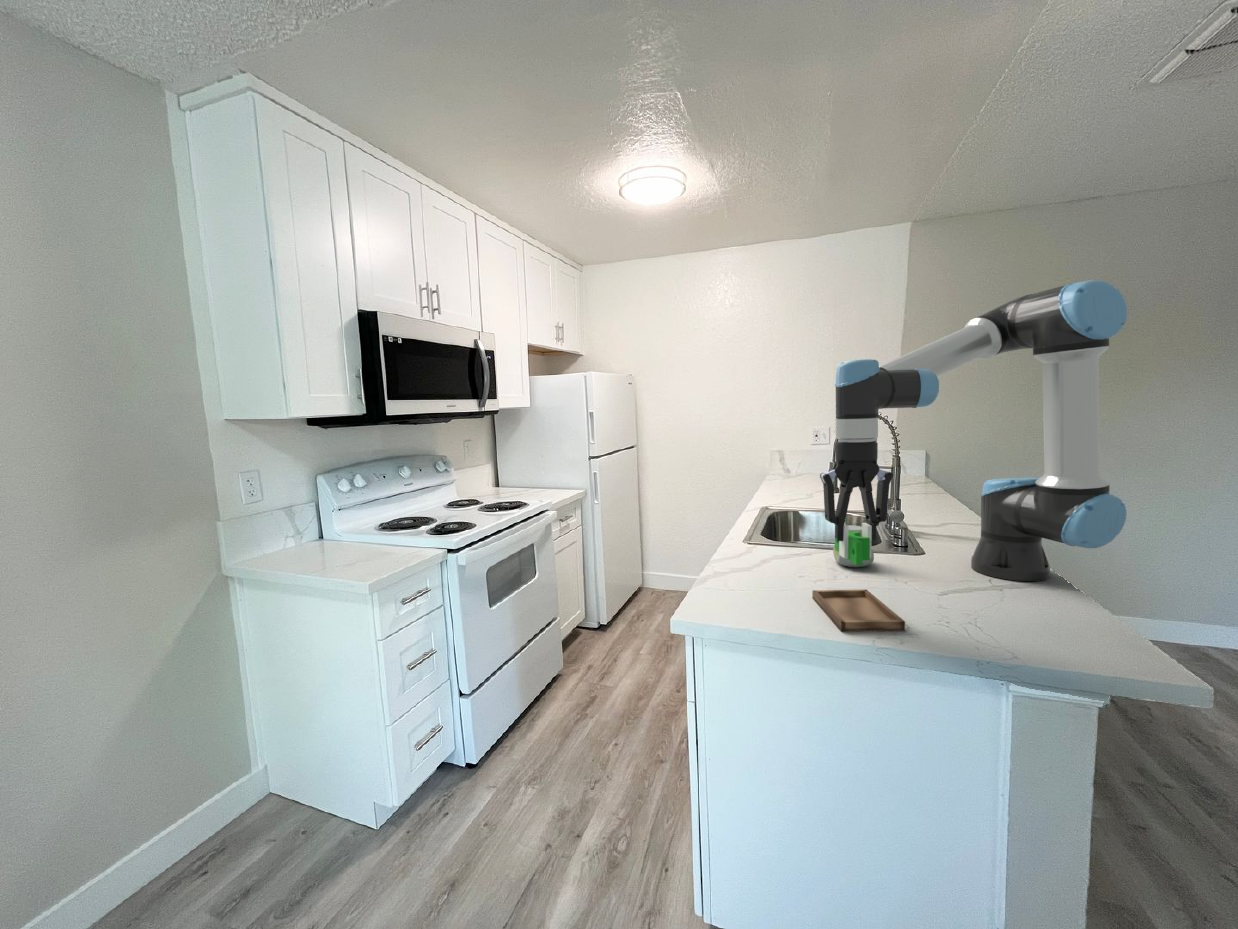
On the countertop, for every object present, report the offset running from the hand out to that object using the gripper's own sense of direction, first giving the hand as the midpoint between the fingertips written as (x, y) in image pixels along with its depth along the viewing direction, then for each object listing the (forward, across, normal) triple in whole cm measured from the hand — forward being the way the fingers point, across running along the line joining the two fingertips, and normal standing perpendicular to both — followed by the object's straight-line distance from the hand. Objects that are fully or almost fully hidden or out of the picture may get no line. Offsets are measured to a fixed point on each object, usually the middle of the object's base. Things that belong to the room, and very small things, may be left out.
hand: (855, 556), depth 100 cm
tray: (+12, 0, 0) cm, 12 cm away
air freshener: (+12, -12, -32) cm, 36 cm away
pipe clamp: (0, 0, 0) cm, 0 cm away
